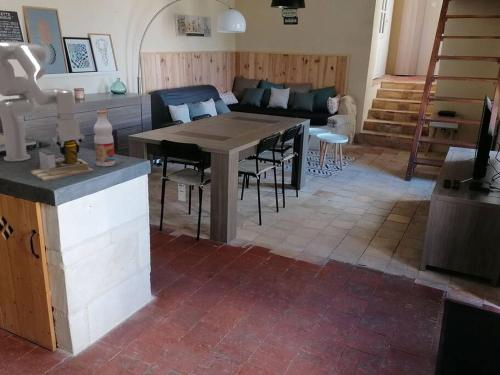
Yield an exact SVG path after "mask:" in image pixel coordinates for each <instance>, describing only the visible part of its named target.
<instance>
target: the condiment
mask: <svg viewBox="0 0 500 375" xmlns="http://www.w3.org/2000/svg"><path fill="white" fill-rule="evenodd" d="M63 146H64V147H65V155H63V157H64V159H63V160H64V161H61V160H58V161H59V163H60V164H61V165H70V164H79V162H78V159H79V158H78V153H77V148H76V144H75V140H69V141H65V142H64V145H63Z"/></svg>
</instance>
